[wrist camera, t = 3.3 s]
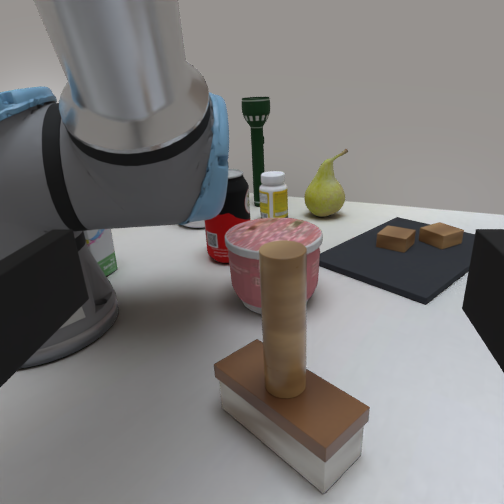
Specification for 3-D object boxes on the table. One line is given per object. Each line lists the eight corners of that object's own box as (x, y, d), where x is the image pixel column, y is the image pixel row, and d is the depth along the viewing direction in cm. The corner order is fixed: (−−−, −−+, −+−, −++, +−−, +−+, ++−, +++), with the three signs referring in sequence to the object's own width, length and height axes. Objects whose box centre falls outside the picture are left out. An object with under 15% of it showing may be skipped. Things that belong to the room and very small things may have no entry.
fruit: (315, 207, 77) (316, 143, 73) (352, 213, 73) (356, 145, 69) (298, 217, 73) (297, 149, 68) (337, 224, 68) (339, 152, 64)
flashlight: (277, 206, 80) (274, 97, 72) (254, 210, 78) (248, 99, 70) (265, 200, 84) (261, 96, 76) (242, 204, 82) (236, 98, 74)
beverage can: (228, 270, 54) (221, 181, 50) (199, 257, 58) (190, 174, 54) (261, 254, 58) (257, 171, 54) (231, 244, 62) (225, 166, 58)
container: (334, 287, 48) (337, 224, 45) (296, 333, 40) (296, 259, 37) (259, 270, 54) (256, 212, 50) (211, 307, 45) (204, 241, 42)
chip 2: (418, 240, 58) (419, 227, 58) (437, 234, 60) (439, 222, 59) (441, 249, 55) (443, 235, 54) (461, 243, 57) (464, 230, 56)
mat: (311, 263, 55) (311, 257, 55) (396, 221, 68) (396, 217, 68) (425, 304, 44) (426, 298, 44) (500, 245, 57) (501, 240, 57)
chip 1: (375, 246, 57) (376, 233, 56) (386, 237, 60) (387, 225, 59) (404, 253, 55) (406, 239, 54) (414, 243, 58) (415, 229, 57)
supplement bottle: (290, 217, 73) (289, 170, 70) (285, 226, 69) (284, 177, 66) (264, 216, 74) (262, 170, 71) (257, 225, 70) (255, 176, 67)
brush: (217, 407, 32) (200, 238, 26) (259, 380, 34) (250, 220, 29) (324, 499, 24) (330, 291, 19) (365, 455, 27) (382, 262, 22)
